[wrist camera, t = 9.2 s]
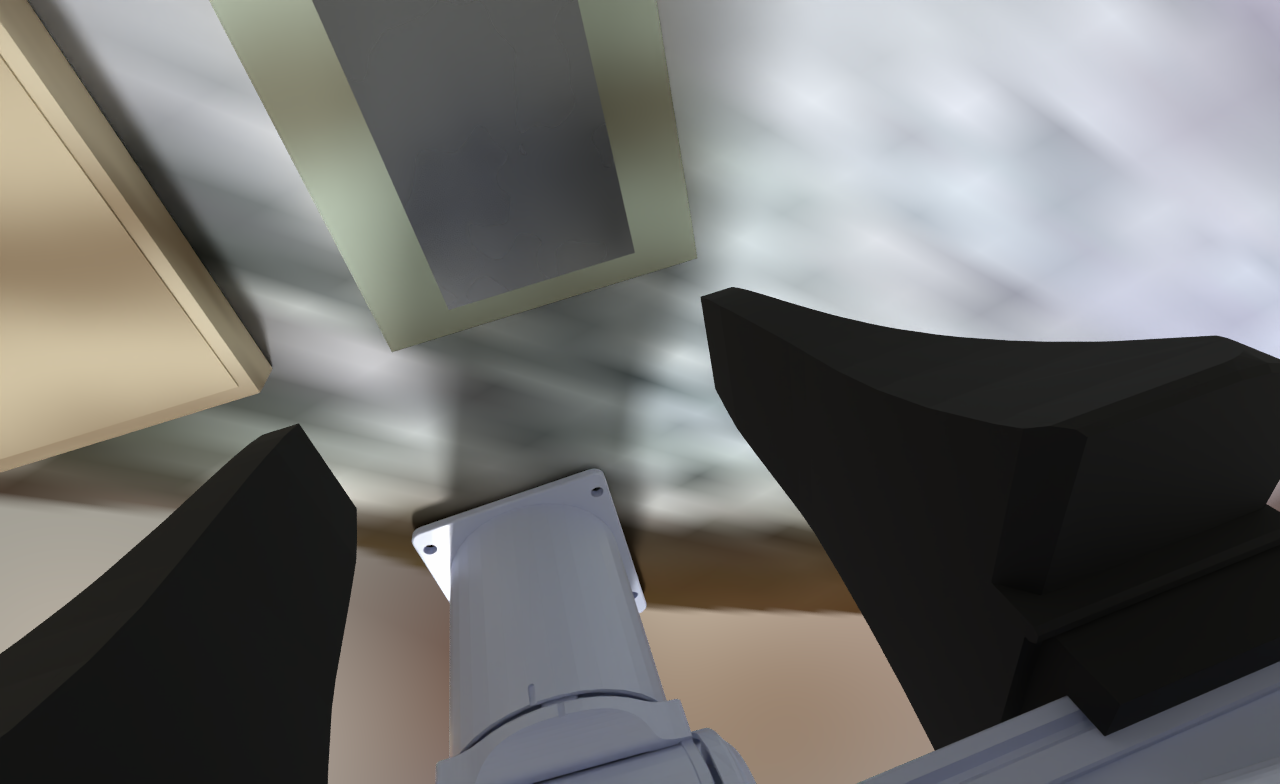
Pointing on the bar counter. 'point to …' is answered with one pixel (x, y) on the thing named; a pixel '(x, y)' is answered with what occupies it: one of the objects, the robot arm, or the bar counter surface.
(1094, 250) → the bar counter surface
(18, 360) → the stand
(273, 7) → the stand
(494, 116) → the block
